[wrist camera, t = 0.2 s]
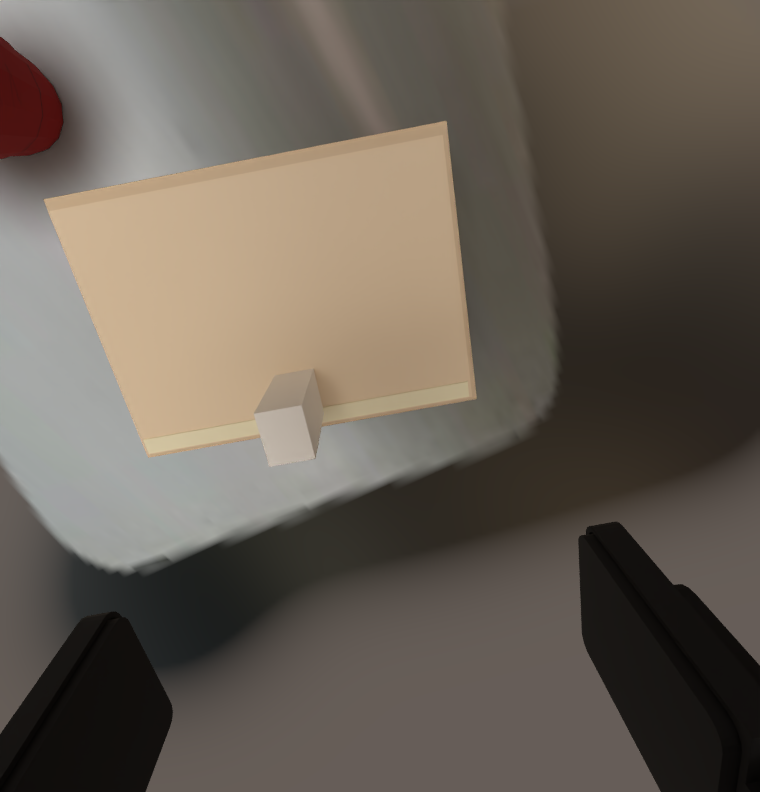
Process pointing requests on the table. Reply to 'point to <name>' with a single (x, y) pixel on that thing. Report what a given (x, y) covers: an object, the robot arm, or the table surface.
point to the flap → (277, 298)
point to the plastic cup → (26, 106)
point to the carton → (278, 161)
